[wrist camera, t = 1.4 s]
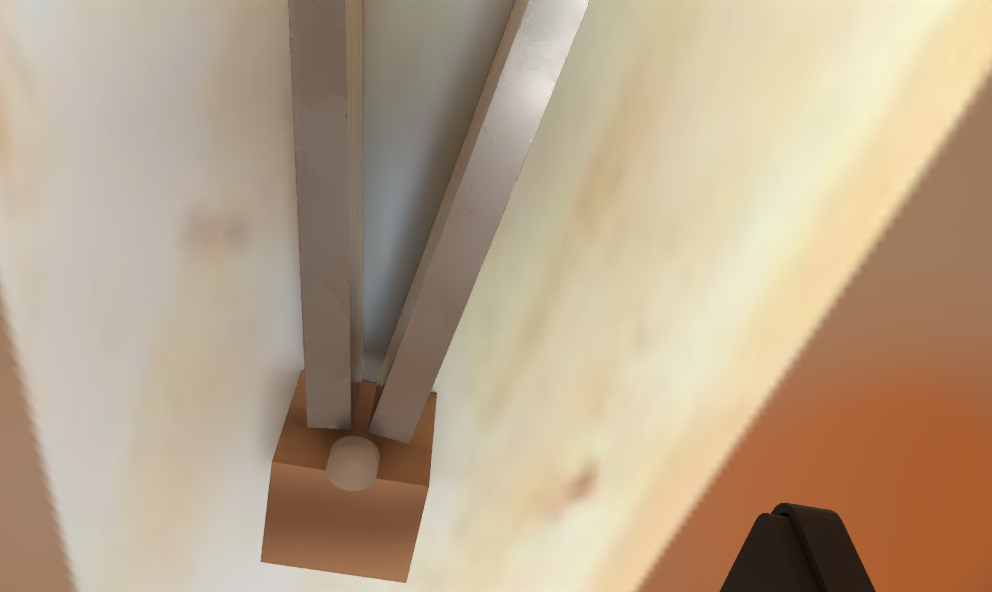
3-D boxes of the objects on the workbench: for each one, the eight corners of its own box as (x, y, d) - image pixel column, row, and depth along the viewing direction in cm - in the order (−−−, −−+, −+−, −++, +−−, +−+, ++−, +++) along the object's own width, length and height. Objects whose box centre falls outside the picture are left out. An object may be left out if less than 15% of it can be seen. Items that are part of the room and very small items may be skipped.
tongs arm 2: (363, 372, 31) (350, 429, 28) (323, 370, 31) (307, 427, 28) (361, -341, 20) (341, -361, 18) (301, -346, 20) (272, -367, 18)
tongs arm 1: (416, 385, 31) (409, 443, 28) (378, 374, 31) (367, 432, 28) (667, -250, 21) (694, -256, 19) (615, -273, 21) (635, -284, 18)
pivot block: (416, 483, 34) (405, 585, 30) (289, 463, 34) (260, 564, 29) (441, 371, 32) (433, 465, 27) (304, 348, 31) (274, 439, 27)
